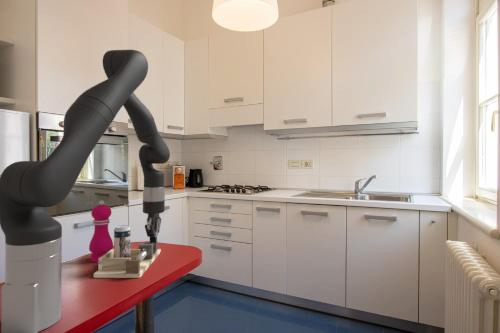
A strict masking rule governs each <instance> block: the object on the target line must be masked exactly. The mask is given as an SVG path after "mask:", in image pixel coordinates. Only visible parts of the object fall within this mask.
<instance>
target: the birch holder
mask: <svg viewBox="0 0 500 333" xmlns="http://www.w3.org/2000/svg"><path fill="white" fill-rule="evenodd" d="M144 249H149V253H148V255H147V256H146V257H145V258H144V259H143V260H142V261H141V262H140V260H135V258H136V257H137V256H138V255H139V254H140V253H141V252H142V251H143V250H144ZM160 252H161V253H162V249H161V248H157V251H156V252H153V244H144V243H139V244H138V248H130V258H114V248H112V249H111V250H110V251H109V252H107V253H106V254H104V255H103V256H102V257H100V258H99V259H98V262H97V264H98V270H96V271H95V272H94V273H93V278H94V279H103V278H104V279H109V278H110V279H112V278H113V279H114V278H115V279H120V278H121V279H122V278H123V279H127V278H129V279H131V278H132V279H134V278H136V279H137V278H138V279H139V278H141V277H142V276H143V275H144V273H145V272H146V271H147V270H148V269H149V268H150V266H151V265H152V263H153V262H154V261H155V260H156V259H157V258H158V256H159V255H160V254H161V253H160Z"/></svg>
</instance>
